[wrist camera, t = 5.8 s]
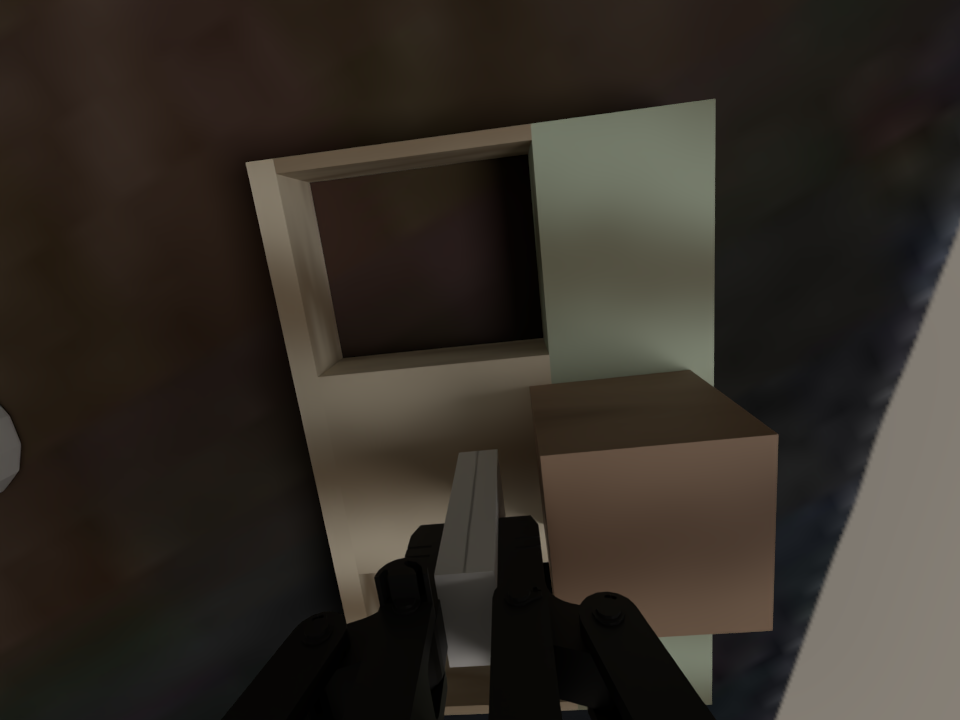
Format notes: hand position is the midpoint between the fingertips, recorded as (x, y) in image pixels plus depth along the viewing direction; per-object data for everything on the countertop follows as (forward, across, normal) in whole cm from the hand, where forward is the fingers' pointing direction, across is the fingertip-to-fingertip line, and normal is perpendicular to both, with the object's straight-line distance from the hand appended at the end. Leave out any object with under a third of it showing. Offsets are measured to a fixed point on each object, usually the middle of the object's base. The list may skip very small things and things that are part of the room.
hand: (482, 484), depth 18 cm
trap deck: (+5, -1, 0) cm, 5 cm away
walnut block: (+2, -5, 0) cm, 5 cm away
